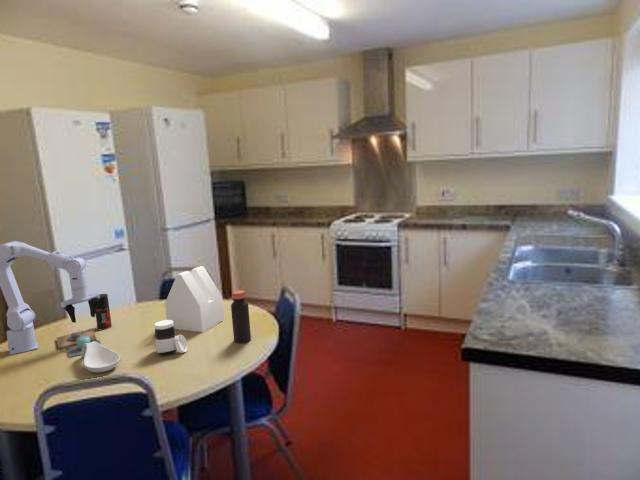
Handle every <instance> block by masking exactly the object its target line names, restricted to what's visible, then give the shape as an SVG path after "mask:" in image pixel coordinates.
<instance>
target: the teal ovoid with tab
mask: <svg viewBox="0 0 640 480" xmlns="http://www.w3.org/2000/svg"><path fill="white" fill-rule="evenodd" d="M85 343H90V337H89V336H84V337H80V338H78V339H77V345H78V350H82V348H83V345H84V344H85Z"/></svg>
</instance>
